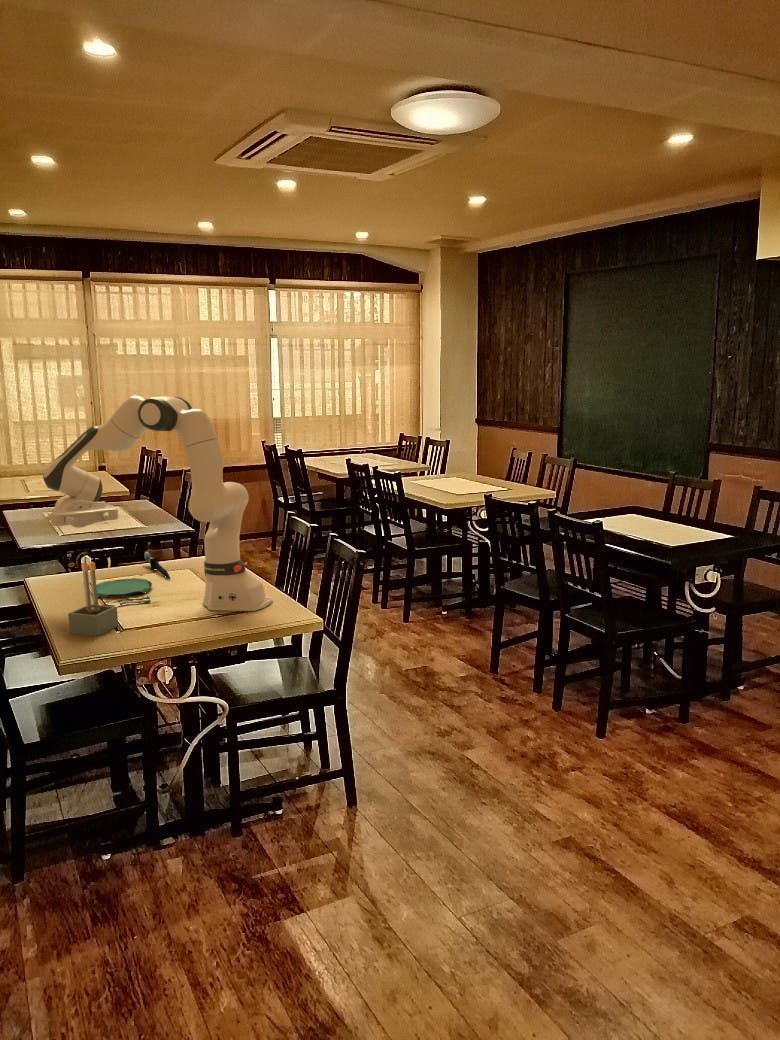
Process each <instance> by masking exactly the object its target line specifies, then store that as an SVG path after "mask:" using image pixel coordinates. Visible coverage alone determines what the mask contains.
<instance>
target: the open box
mask: <svg viewBox="0 0 780 1040" xmlns="http://www.w3.org/2000/svg"><path fill="white" fill-rule="evenodd" d="M91 607H93V603H91ZM98 607H99V608H100V611H99V614H97V615H94V612H92V615H89V614H87V612H86V611H85V608H86V605H84V606H83V607H80V608H78V609H76V610H73V611H71V612H69V613H68V614H67V615H68V617H67V618H68V626H69V633H70V634H72V633H73V634H72V635H74V634H75V635H84V636H92V637H99V636H101V635H103V634H105V633H107V632H109V631H111V630H114V629H115V628H117V627H119V617H118V607H115V606H112V605H105V604H103V605H101V604H98Z"/></svg>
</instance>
